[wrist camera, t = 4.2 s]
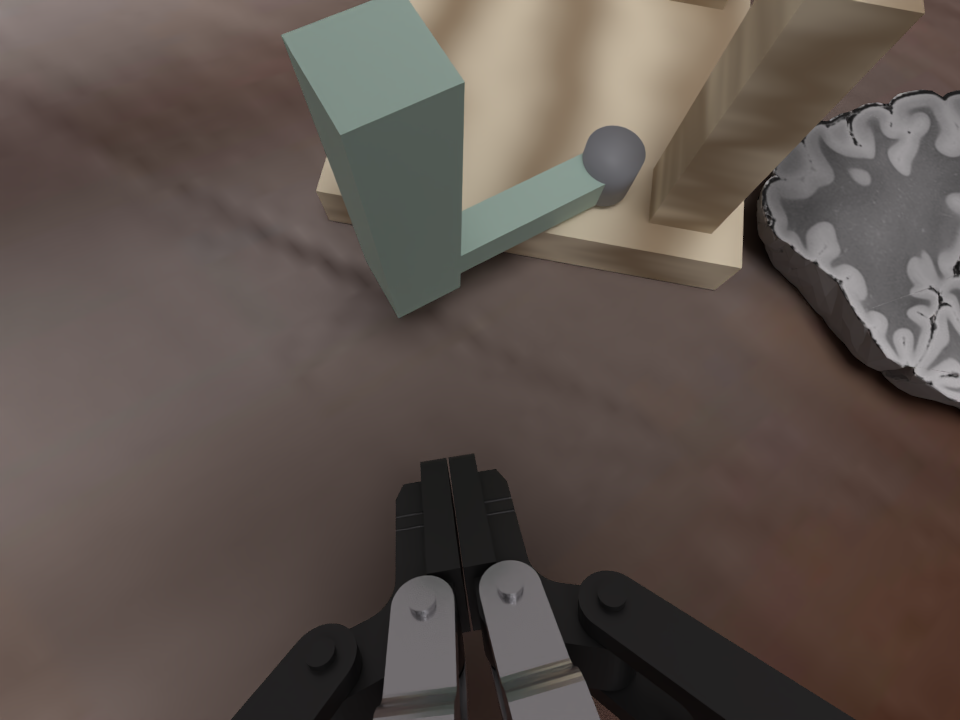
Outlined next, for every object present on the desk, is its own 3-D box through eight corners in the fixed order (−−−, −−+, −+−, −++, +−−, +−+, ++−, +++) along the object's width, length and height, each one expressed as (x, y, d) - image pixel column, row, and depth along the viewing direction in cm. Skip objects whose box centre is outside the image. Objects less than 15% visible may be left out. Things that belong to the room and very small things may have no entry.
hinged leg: (606, 147, 24) (727, -136, 13) (641, 195, 23) (798, -62, 13) (366, 263, 22) (281, 34, 11) (398, 319, 21) (340, 134, 10)
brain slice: (1139, 252, 27) (1219, 224, 25) (1040, 508, 23) (1122, 510, 20) (826, 71, 30) (865, 25, 27) (686, 273, 26) (715, 245, 23)
